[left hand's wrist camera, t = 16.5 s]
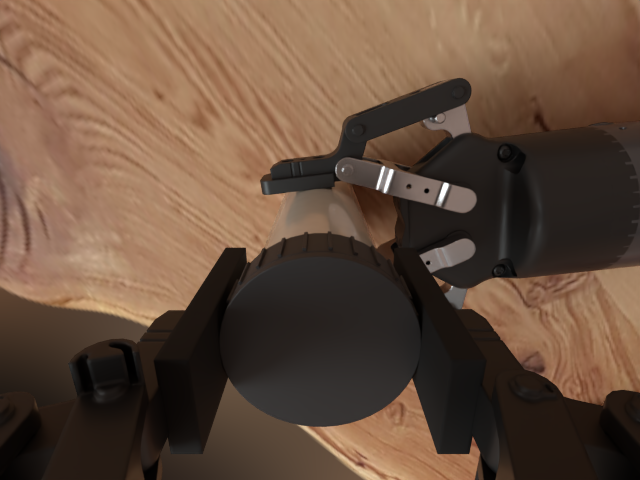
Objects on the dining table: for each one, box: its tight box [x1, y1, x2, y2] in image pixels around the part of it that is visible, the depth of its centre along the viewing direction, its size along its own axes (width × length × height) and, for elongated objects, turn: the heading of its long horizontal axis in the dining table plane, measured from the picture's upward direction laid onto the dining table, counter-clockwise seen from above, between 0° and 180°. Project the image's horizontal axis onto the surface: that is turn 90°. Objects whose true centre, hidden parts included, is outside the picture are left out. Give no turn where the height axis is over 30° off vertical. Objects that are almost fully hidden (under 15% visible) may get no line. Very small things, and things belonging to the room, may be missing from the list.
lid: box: [219, 231, 421, 427], centre depth 11 cm, size 6×6×2 cm
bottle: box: [264, 181, 378, 252], centre depth 19 cm, size 5×5×16 cm
